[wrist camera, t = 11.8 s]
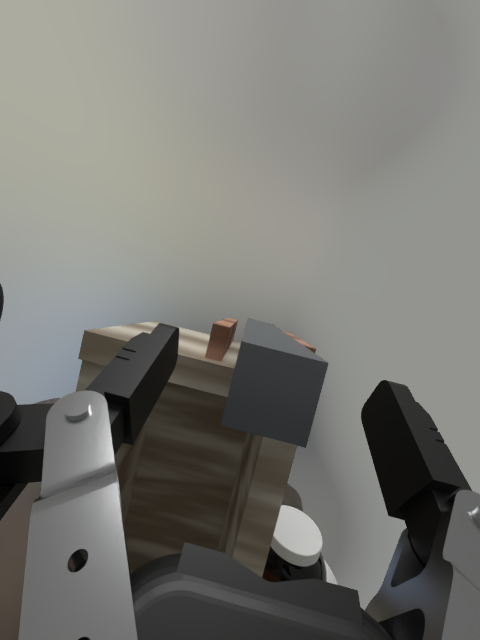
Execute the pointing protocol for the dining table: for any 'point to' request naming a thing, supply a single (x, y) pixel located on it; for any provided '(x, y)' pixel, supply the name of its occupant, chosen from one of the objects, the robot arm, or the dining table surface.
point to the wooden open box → (194, 455)
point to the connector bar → (274, 385)
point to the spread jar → (296, 550)
